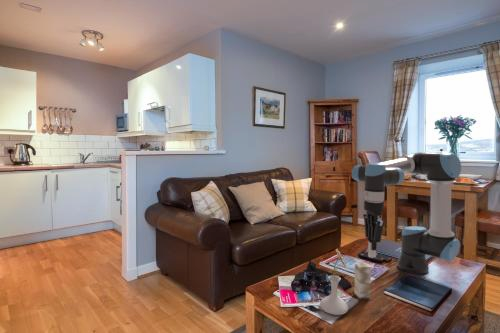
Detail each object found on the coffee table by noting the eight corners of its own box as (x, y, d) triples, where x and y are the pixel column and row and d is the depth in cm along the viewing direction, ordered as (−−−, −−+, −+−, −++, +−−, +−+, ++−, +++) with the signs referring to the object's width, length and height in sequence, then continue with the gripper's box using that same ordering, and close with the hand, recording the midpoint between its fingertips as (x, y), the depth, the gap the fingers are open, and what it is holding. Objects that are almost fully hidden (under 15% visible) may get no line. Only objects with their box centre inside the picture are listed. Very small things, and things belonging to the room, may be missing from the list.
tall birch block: (364, 293, 133) (365, 262, 132) (370, 299, 128) (371, 266, 127) (354, 294, 132) (355, 262, 131) (359, 300, 127) (360, 267, 126)
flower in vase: (344, 321, 112) (345, 259, 110) (316, 312, 118) (316, 253, 116) (352, 305, 123) (353, 248, 121) (325, 297, 129) (326, 243, 127)
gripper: (357, 198, 125) (356, 251, 126) (373, 204, 112) (371, 263, 113) (374, 198, 125) (372, 250, 127) (391, 204, 112) (389, 262, 114)
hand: (371, 256), depth 120 cm, fingers closed
